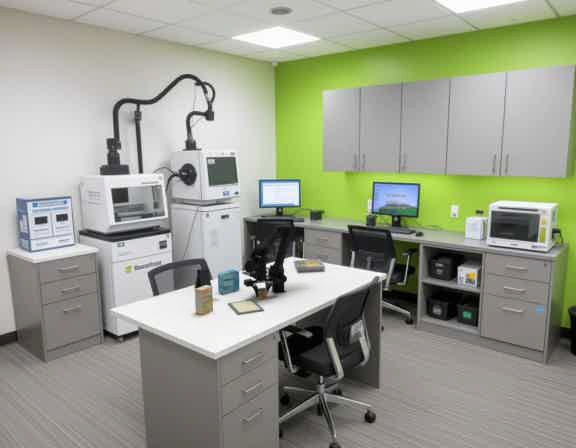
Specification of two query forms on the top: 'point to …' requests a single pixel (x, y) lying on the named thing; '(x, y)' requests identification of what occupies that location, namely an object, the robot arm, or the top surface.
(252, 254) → the robot arm
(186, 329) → the top surface
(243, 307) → the slate pad
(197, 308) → the supplement box
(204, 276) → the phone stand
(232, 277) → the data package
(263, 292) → the walnut cube
